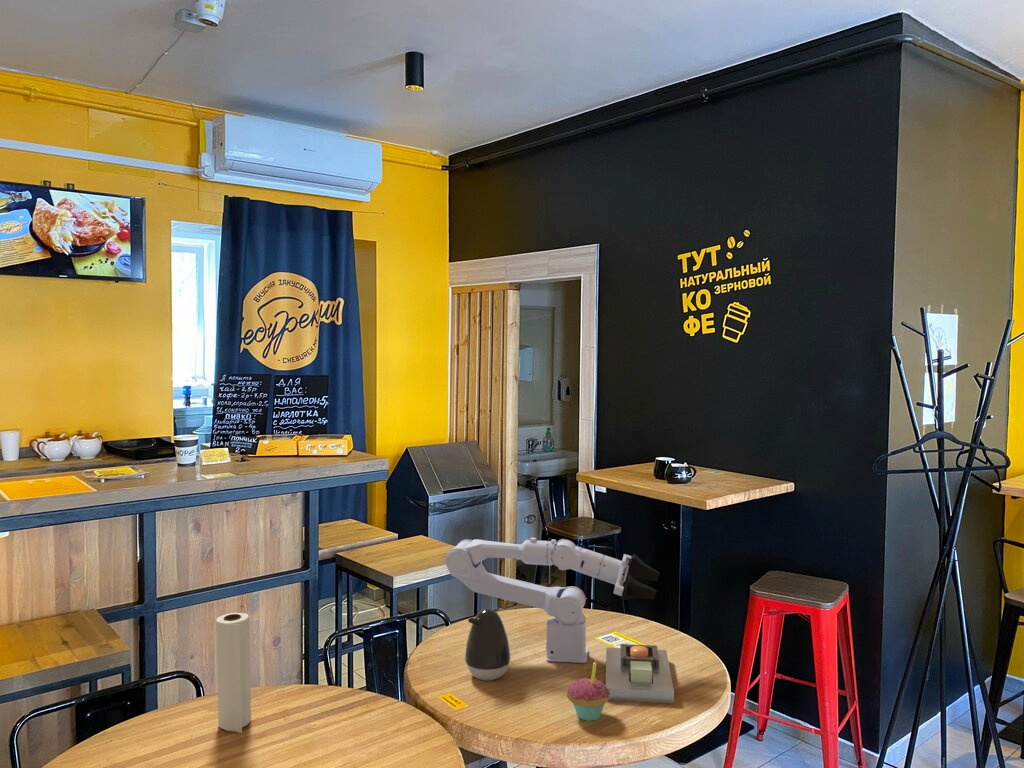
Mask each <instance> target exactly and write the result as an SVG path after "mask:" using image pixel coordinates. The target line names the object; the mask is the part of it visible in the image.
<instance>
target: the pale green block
mask: <svg viewBox="0 0 1024 768" xmlns="http://www.w3.org/2000/svg"><path fill="white" fill-rule="evenodd" d="M630 679H631V682H633V683H652V667H651V662H643V661H630Z"/></svg>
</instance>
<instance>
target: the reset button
mask: <svg viewBox="0 0 1024 768" xmlns="http://www.w3.org/2000/svg"><path fill="white" fill-rule="evenodd" d="M630 657H648V649H647V648H646V647H643V646H633V647H631V648H630Z"/></svg>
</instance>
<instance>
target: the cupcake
mask: <svg viewBox="0 0 1024 768" xmlns="http://www.w3.org/2000/svg"><path fill="white" fill-rule="evenodd" d="M596 671H597V659H595V660H594V662H593V663H592V671H591V678H588V677H581V678H580V677H579V678H578V679H575V680H574V681H571V682H570V684H569V685H568V687H567V690H566V693H565V694H566V698H567V699H568V701H570V702H571V703H572V705H573V708H574V710H575V713H576V716H577V717H578V718H579V719H580V720H583V721H589V722H591V721H596V720H598V719H600V717H601V716H602V712H603V709H604V706H605V704H606V703H608V702H609V700H608V698H609V696H610V692H609V690H608V688H607V686H606V683H604V682H603V681H600V680H599V679H597V678H596Z"/></svg>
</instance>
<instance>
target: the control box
mask: <svg viewBox="0 0 1024 768" xmlns="http://www.w3.org/2000/svg"><path fill="white" fill-rule="evenodd" d="M633 646H643V647H646V648H647V649H648V657H630V648H631V647H633ZM605 650H606V651H605V653H606V655H605V657H606V658H605V659H606V660H605V663H606V664H605V685H606V686H607V688H608V690H609V692H610V696H609V698H608V701H612V702H613V701H615V702H635V703H637V702H638V703H650V704H651V703H653V704H669V705H671V704H675V690H674V689H675V688H674V685H673V678H672V674H671V669H670V662H669V658H668V653H667V649H658V645H650V644H629V643H628V644H627V643H620V647H606V649H605ZM630 661H643V662H651V667H652V683H633V682H631V679H630Z"/></svg>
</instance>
